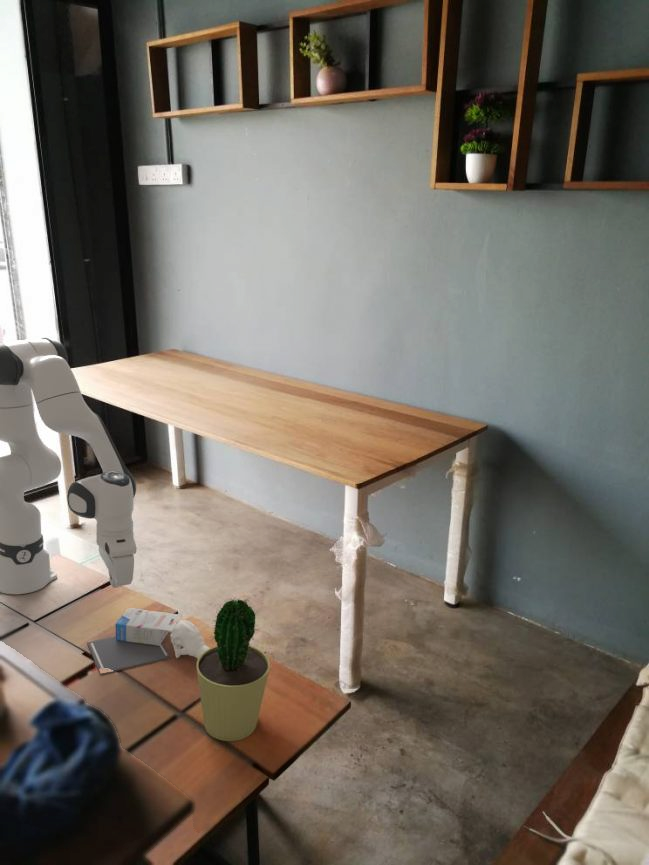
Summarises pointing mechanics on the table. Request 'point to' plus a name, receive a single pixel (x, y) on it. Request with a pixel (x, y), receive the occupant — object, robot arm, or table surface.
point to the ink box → (145, 626)
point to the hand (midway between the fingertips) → (114, 585)
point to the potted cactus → (232, 675)
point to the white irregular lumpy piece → (187, 640)
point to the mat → (125, 653)
